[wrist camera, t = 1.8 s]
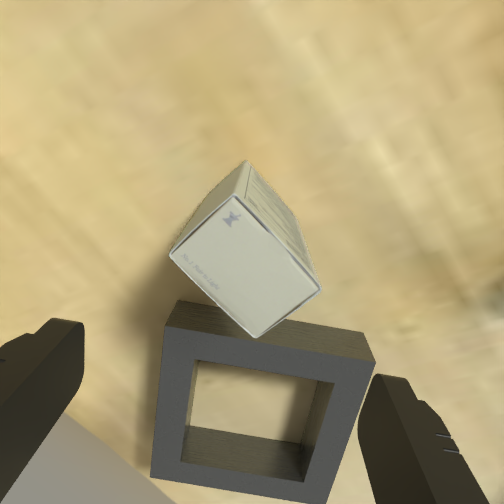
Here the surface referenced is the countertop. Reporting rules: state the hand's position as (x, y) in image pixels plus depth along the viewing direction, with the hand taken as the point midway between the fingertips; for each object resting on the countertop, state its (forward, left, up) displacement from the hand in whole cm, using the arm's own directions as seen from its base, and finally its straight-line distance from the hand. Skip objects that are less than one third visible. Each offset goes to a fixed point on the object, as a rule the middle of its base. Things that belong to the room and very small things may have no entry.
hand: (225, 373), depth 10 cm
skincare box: (0, 0, -19) cm, 19 cm away
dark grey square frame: (-3, +17, -19) cm, 26 cm away
